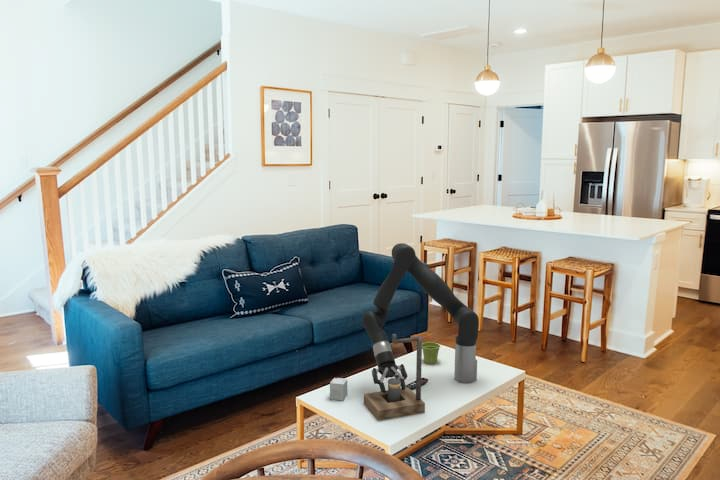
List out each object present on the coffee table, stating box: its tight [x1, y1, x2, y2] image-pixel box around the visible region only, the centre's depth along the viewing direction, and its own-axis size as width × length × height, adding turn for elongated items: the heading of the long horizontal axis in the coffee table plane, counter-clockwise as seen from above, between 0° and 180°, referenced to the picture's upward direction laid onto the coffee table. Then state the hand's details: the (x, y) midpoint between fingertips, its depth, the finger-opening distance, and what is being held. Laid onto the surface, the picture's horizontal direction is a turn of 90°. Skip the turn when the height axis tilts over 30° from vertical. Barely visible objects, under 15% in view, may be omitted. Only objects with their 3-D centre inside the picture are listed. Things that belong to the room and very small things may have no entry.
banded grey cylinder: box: [387, 377, 401, 403], centre depth 224 cm, size 5×5×11 cm
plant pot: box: [422, 341, 441, 365], centre depth 272 cm, size 9×9×9 cm
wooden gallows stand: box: [363, 333, 426, 422], centre depth 221 cm, size 20×16×32 cm
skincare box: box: [329, 377, 348, 401], centre depth 232 cm, size 6×6×7 cm
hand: (394, 391), depth 222 cm, fingers open, 8 cm apart
